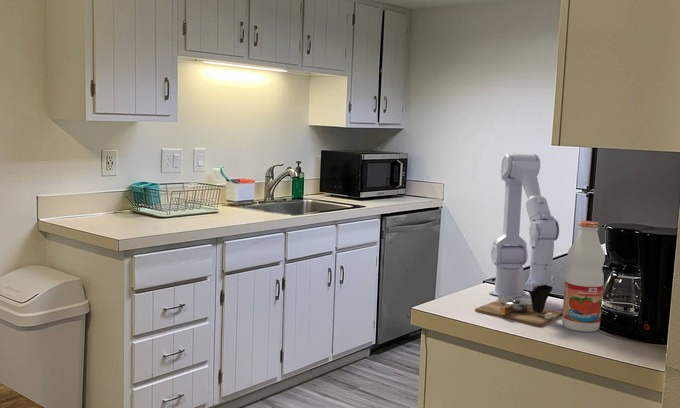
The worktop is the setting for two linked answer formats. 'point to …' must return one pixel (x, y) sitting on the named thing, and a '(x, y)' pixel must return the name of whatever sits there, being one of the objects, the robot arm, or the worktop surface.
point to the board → (519, 314)
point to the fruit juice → (584, 280)
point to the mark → (548, 315)
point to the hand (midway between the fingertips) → (537, 311)
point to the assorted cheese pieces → (514, 305)
